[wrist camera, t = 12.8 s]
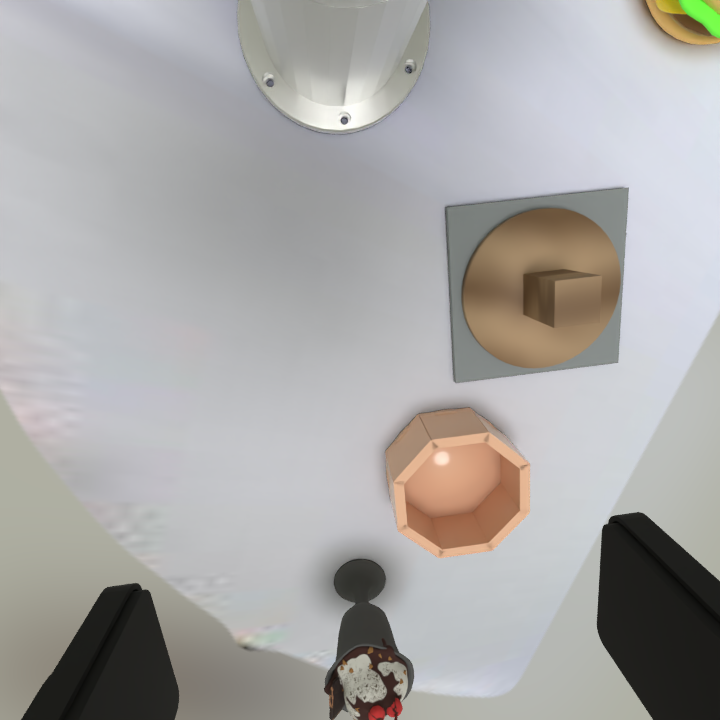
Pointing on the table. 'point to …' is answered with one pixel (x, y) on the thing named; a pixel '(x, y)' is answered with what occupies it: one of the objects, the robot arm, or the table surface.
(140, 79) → the table surface
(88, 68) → the table surface
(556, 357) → the lid
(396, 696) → the sundae
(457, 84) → the table surface
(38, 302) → the table surface
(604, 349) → the mat
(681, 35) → the hamburger
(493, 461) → the bowl
